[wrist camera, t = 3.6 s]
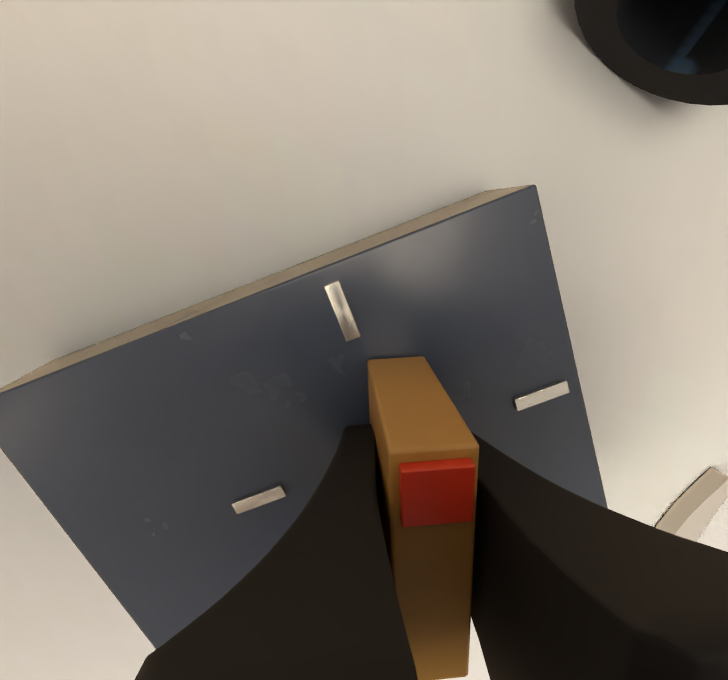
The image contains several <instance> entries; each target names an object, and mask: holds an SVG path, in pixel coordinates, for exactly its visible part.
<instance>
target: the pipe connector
mask: <svg viewBox="0 0 728 680" xmlns="http://www.w3.org/2000/svg"><path fill="white" fill-rule="evenodd" d="M575 10H576V15H577V19H578V23H579V25H580V28H581V30H582V32H583V35H584V37H585V39H586V40H587V42H588V43H589V45H590V46H591V48H592V49H593V51H594V52H595V53H596V54H597V56H598V57H599V58H600V59H601V60H602V61H603V62H604V63H605V64H606V65H607V66H608V67H609V68H610V69H612V70H613V71H614V72H615V73H616V74H618V75H619V76H620V77H622V78H624V79H625V80H627V81H628V82H630V83H632V84H633V85H635V86H637V87H639V88H641V89H643V90H645V91H648V92H650V93H652V94H655V95H658V96H661V97H664V98H667V99H670V100H675V101H680V102H685V103H689V104H701V105H728V0H575Z"/></svg>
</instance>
